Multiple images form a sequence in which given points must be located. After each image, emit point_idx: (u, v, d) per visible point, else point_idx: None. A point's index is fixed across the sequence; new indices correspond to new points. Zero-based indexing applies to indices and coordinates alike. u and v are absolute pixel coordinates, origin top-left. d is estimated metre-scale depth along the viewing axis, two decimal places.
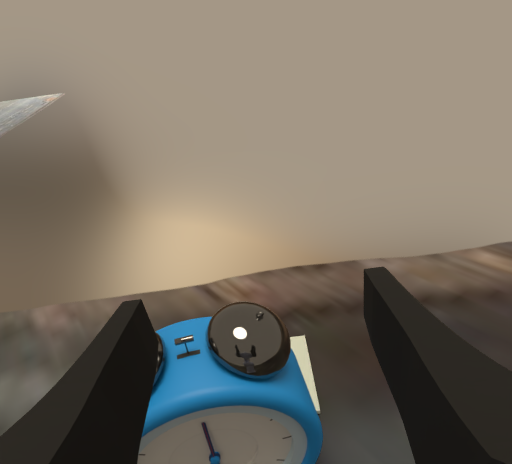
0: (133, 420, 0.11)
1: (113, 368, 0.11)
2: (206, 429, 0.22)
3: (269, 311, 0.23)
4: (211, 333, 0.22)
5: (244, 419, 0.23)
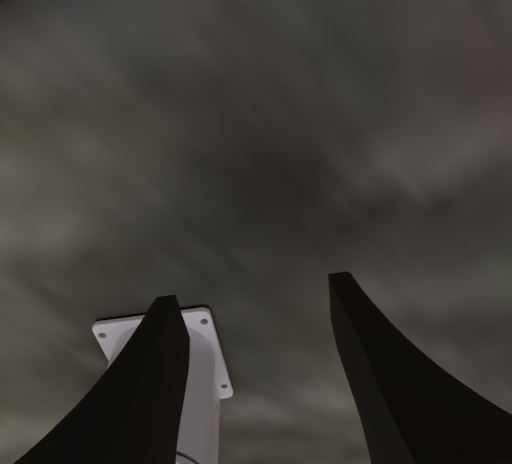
0: (171, 415, 0.11)
1: (155, 363, 0.11)
2: None
3: None
4: None
5: None
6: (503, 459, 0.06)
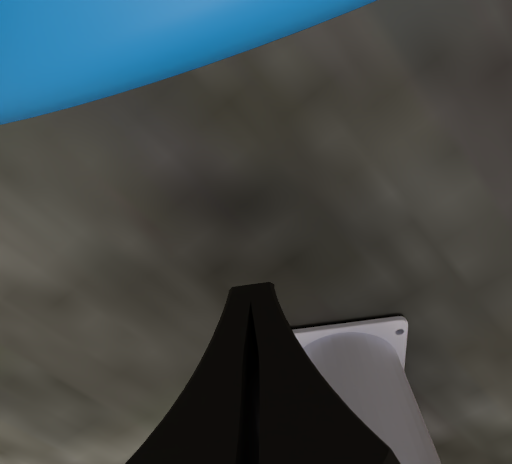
0: (257, 405, 0.11)
1: (246, 351, 0.10)
2: None
3: None
4: None
5: None
6: None
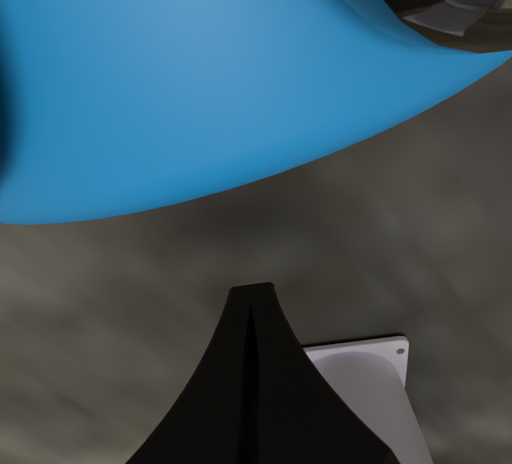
0: (257, 405, 0.11)
1: (247, 351, 0.10)
2: None
3: None
4: None
5: None
6: None
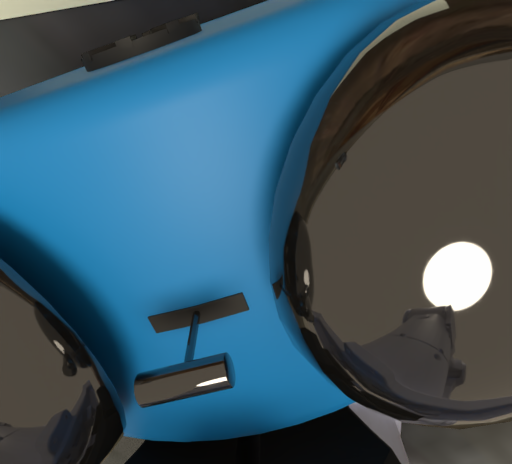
0: None
1: None
2: None
3: None
4: (329, 365, 0.04)
5: None
6: None
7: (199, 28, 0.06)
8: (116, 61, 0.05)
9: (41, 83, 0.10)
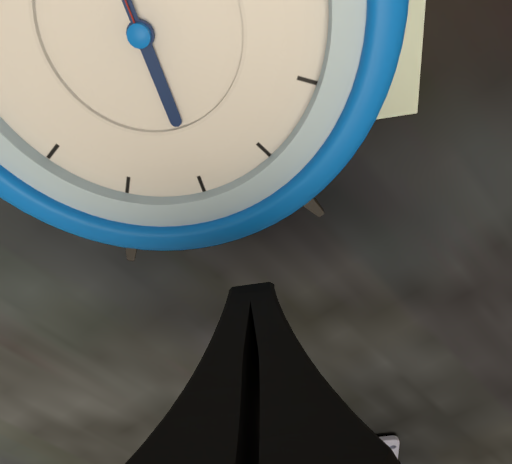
0: (257, 405, 0.11)
1: (247, 351, 0.10)
2: None
3: None
4: None
5: None
6: None
7: None
8: None
9: None
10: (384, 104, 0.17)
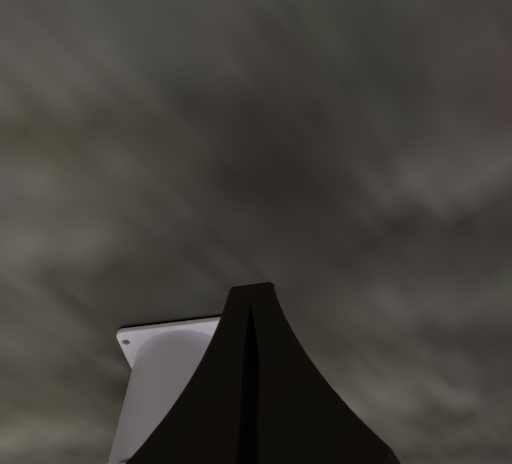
0: (257, 405, 0.11)
1: (247, 351, 0.10)
2: None
3: None
4: None
5: None
6: None
7: None
8: None
9: None
10: None
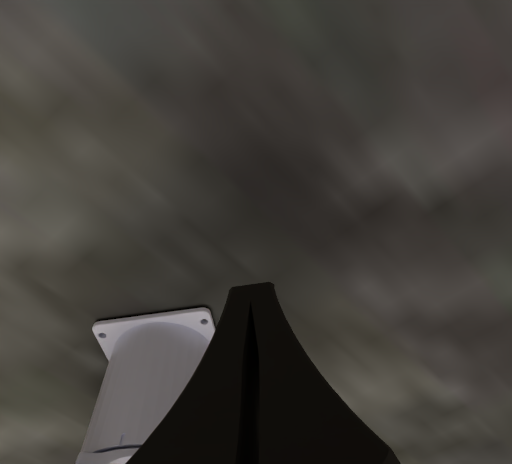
0: (257, 405, 0.11)
1: (247, 351, 0.10)
2: None
3: None
4: None
5: None
6: None
7: None
8: None
9: None
10: None
